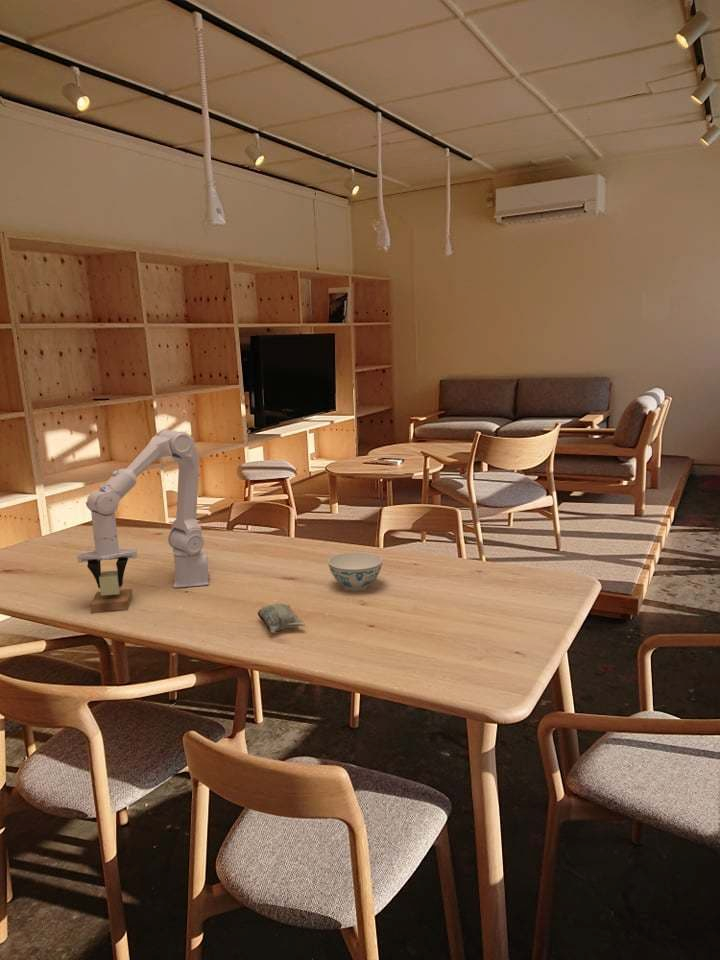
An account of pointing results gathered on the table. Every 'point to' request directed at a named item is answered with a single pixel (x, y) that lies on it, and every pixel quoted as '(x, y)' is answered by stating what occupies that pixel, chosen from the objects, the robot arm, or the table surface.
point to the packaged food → (279, 617)
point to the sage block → (109, 583)
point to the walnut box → (112, 602)
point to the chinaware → (355, 569)
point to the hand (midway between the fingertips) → (110, 586)
